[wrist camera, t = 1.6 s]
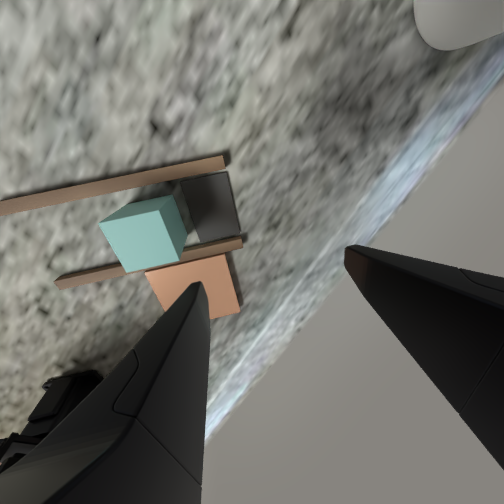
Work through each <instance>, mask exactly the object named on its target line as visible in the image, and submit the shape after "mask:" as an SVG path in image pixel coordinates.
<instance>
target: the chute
mask: <svg viewBox="0 0 504 504" xmlns="http://www.w3.org/2000/svg"><path fill="white" fill-rule="evenodd" d="M222 169H226V168H225V164H224V159H223V155H220V156H215V157H210V158H206V159H201V160H196V161H191V162H186V163H181V164H177V165H172V166H167V167H162V168H157V169H152V170H148V171H143V172H138V173H133V174H128V175H123V176H119V177H114V178H109V179H104V180H99V181H94V182H90V183H85V184H80V185H75V186H70V187H65V188H61V189H56V190H51V191H46V192H41V193H36V194H32V195H27V196H22V197H17V198H12V199H7V200H2V201H0V216H3V215H8V214H12V213H17V212H22V211H27V210H31V209H36V208H41V207H46V206H50V205H55V204H60V203H65V202H69V201H74V200H79V199H84V198H88V197H93V196H98V195H103V194H107V193H112V192H117V191H122V190H127V189H131V188H136V187H141V186H146V185H150V184H155V183H160V182H165V181H169V180H174V179H179V178H184V177H188V176H193V175H198V174H203V173H207V172H212V171H217V170H222ZM180 183H181V186H182V189H183V192H184V195H185V198H186V201H187V204H188V207H189V210H190V213H191V216H192V219H193V222H194V225H195V228H196V231H197V234H198V237H199V240H200V242H204V241H208V240H213V239H217V238H222V237H226V236H231V235H235V234H239V233H240V231H239V226H238V222H237V218H236V213H235V209H234V204H233V200H232V195H231V191H230V187H229V182H228V178H227V173H226V172H224V173H219V174H214V175H209V176H205V177H200V178H195V179H191V180H186V181H181V182H180ZM241 248H243V244H242V239H241V236H237V237H233V238H228V239H224V240H220V241H215V242H211V243H206V244H202V245H197V246H193V247H189V248H184V249H183V251H182V254H181V257H180V261H176V262H172V263H167V264H163V265H159V266H154V267H150V268H146V269H141V270H137V271H133V272H128V273H126V271H125V269H124V267H123V266H122V264H121V263H118V264H114V265H109V266H105V267H100V268H96V269H92V270H87V271H83V272H78V273H74V274H70V275H65V276H61V277H58V278H57V279H56V280H55V281H54V283H55V284H56V286H57V287H58V288H59V289H60V290H62V289H66V288H71V287H75V286H79V285H84V284H88V283H92V282H97V281H101V280H106V279H110V278H114V277H119V276H123V275H127V274H132V273H136V272H140V271H145V270H149V269H153V268H158V267H162V266H167V265H171V264H175V263H180V262H184V261H188V260H193V259H197V258H201V257H206V256H210V255H214V254H219V253H223V252H227V251H232V250H236V249H241Z"/></svg>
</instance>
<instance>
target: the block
mask: <svg viewBox="0 0 504 504" xmlns="http://www.w3.org/2000/svg"><path fill="white" fill-rule="evenodd" d="M98 224H99V226H100V228H101V229H102V231H103V233H104V235H105V236H106V238H107V240H108V242H109V243H110V245H111V247H112V248H113V250H114V252H115V254H116V255H117V257H118V259H119V261H120V262H121V264H122V266H123V267H124V269H125V271H126V273H128V272H133V271H137V270H141V269H146V268H150V267H154V266H159V265H163V264H167V263H172V262H176V261H180V257H181V254H182V251H183V248H184V245H185V242H186V239H187V236H188V235H187V232H186V229H185V227H184V224H183V221H182V218H181V216H180V213H179V210H178V207H177V205H176V202H175V199H174V197H173V194H172V195H168V196H163V197H158V198H154V199H149V200H144V201H140V202H135V203H130V204H127V205H125V206H124V207H122V208H121V209H119V210H118V211H116V212H115V213H113V214H112V215H110V216H109V217H107V218H106V219H104V220H103V221H101V222H100V223H98Z"/></svg>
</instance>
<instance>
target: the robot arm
mask: <svg viewBox="0 0 504 504" xmlns="http://www.w3.org/2000/svg"><path fill="white" fill-rule="evenodd" d="M344 265H345V268H346V270H347V271H348V273H349V275H350V276H351V278H352V279H353V281H354V282H355V284H356V285H357V287H358V289H359V290H360V292H361V293H362V295H363V296H364V297H365V299H366V300H367V301H368V302H369V304H370V305H371V306H372V307H373V309H374V310H375V311H376V312H377V314H378V315H379V316H380V317H381V319H382V320H383V321H384V322H385V324H386V325H387V326H388V327H389V329H391V331H392V332H393V333H394V335H395V336H396V337H397V338H398V340H399V341H400V342H401V343H402V345H403V346H404V347H405V348H406V350H407V351H408V352H409V353H410V355H411V356H412V357H413V358H414V359H415V361H416V362H417V363H418V364H419V366H420V367H421V368H422V369H423V371H424V372H425V373H426V374H427V376H428V377H429V378H430V379H431V381H432V382H433V383H434V384H435V385H436V387H437V388H438V389H439V390H440V392H441V393H442V394H443V395H444V396H445V398H446V399H447V400H448V401H449V403H450V404H451V405H452V407H453V408H454V409H455V410H456V411H457V412H458V413H459V415H460V417H461V418H462V419H463V420H464V421H465V423H466V424H467V425H468V426H469V427H470V429H471V430H472V431H473V433H474V434H475V435H476V436H477V438H478V439H479V440H480V441H481V443H482V444H483V445H484V446H485V448H486V449H487V450H488V451H489V453H490V454H491V455H492V456H493V458H494V459H495V460H496V461H497V462H498V464H499V465H500V466H501V467H502V469H503V470H504V278H503V277H498V276H493V275H489V274H484V273H480V272H475V271H471V270H466V269H462V268H460V269H458V268H457V267H453V266H448V265H444V264H439V263H435V262H431V261H426V260H422V259H418V258H413V257H409V256H404V255H400V254H395V253H391V252H387V251H382V250H378V249H374V248H369V247H365V246H360V245H351V246H347V247H346V248H345V255H344ZM209 354H210V317H209V302H208V296H207V294H206V291H205V288H204V286H203V283H202V282H201V281H197V282H193V283H191V284H190V285H189V286H188V287H187V288H186V289H185V290H184V292H183V293H182V294H181V295H180V296H179V297H178V298H177V299H176V301H175V302H174V303H173V304H172V305H171V306H170V307H169V308H168V309H167V311H166V312H165V313H164V314H163V315H162V316H161V317H160V318H159V320H158V321H157V322H156V323H155V324H154V325H153V326H152V327H151V328H150V330H149V331H148V332H147V333H146V334H145V335H144V336H143V337H142V339H141V340H140V341H139V342H138V343H137V344H136V345H135V346H134V349H132V350H131V351H130V352H129V353H128V354H127V355H126V356H125V357H124V359H123V360H122V361H121V362H120V363H119V364H118V365H117V366H116V367H115V368H114V369H113V370H112V371H111V373H110V374H109V375H108V376H107V377H106V378H105V379H103V378H102V377H101V376H100V375H99V374H98V373H97V372H96V371H88V372H84V373H80V374H76V375H72V376H68V377H64V378H60V379H56V380H52V381H48V382H45V383H44V384H43V386H42V388H43V389H44V390H45V391H46V393H45V394H44V396H43V397H42V399H41V400H40V402H39V403H38V404H37V406H36V407H35V409H34V410H33V412H32V413H31V415H30V416H29V418H28V421H29V422H28V424H27V425H26V427H25V428H24V430H23V431H22V433H21V434H20V435H19V434H18V433H14V432H12V434H11V435H10V436H9V437H8V438H4V439H0V462H2V464H1V465H0V504H201V490H202V487H201V485H202V471H203V454H204V439H205V422H206V405H207V388H208V371H209Z"/></svg>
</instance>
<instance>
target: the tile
mask: <svg viewBox="0 0 504 504" xmlns="http://www.w3.org/2000/svg"><path fill="white" fill-rule="evenodd" d="M145 275H146V277H147V278H148V280H149V282H150V284H151V286H152V288H153V290H154V292H155V294H156V296H157V297H158V299H159V301H160V303H161V305H162V307H163V309H164V311H165V312H166V311H167V309H168V308H169V307H170V306H171V305H172V304H173V303H174V302H175V301H176V299H177V298H178V297H179V296H180V295H181V294H182V293H183V292H184V290H185V289H186V288H187V287H188V286H189V285H190V284H191V283H193V282H197V281H201V282H202V283H203V286H204V288H205V291H206V294H207V296H208V302H209V317H210V319H214V318H218V317H222V316H226V315H230V314H234V313H238V312H240V306H239V302H238V299H237V295H236V292H235V288H234V284H233V281H232V277H231V274H230V270H229V267H228V263H227V259H226V256H225V252H223V253H219V254H214V255H210V256H206V257H201V258H197V259H193V260H188V261H184V262H180V263H175V264H171V265H167V266H162V267H158V268H153V269H149V270H146V271H145Z"/></svg>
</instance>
